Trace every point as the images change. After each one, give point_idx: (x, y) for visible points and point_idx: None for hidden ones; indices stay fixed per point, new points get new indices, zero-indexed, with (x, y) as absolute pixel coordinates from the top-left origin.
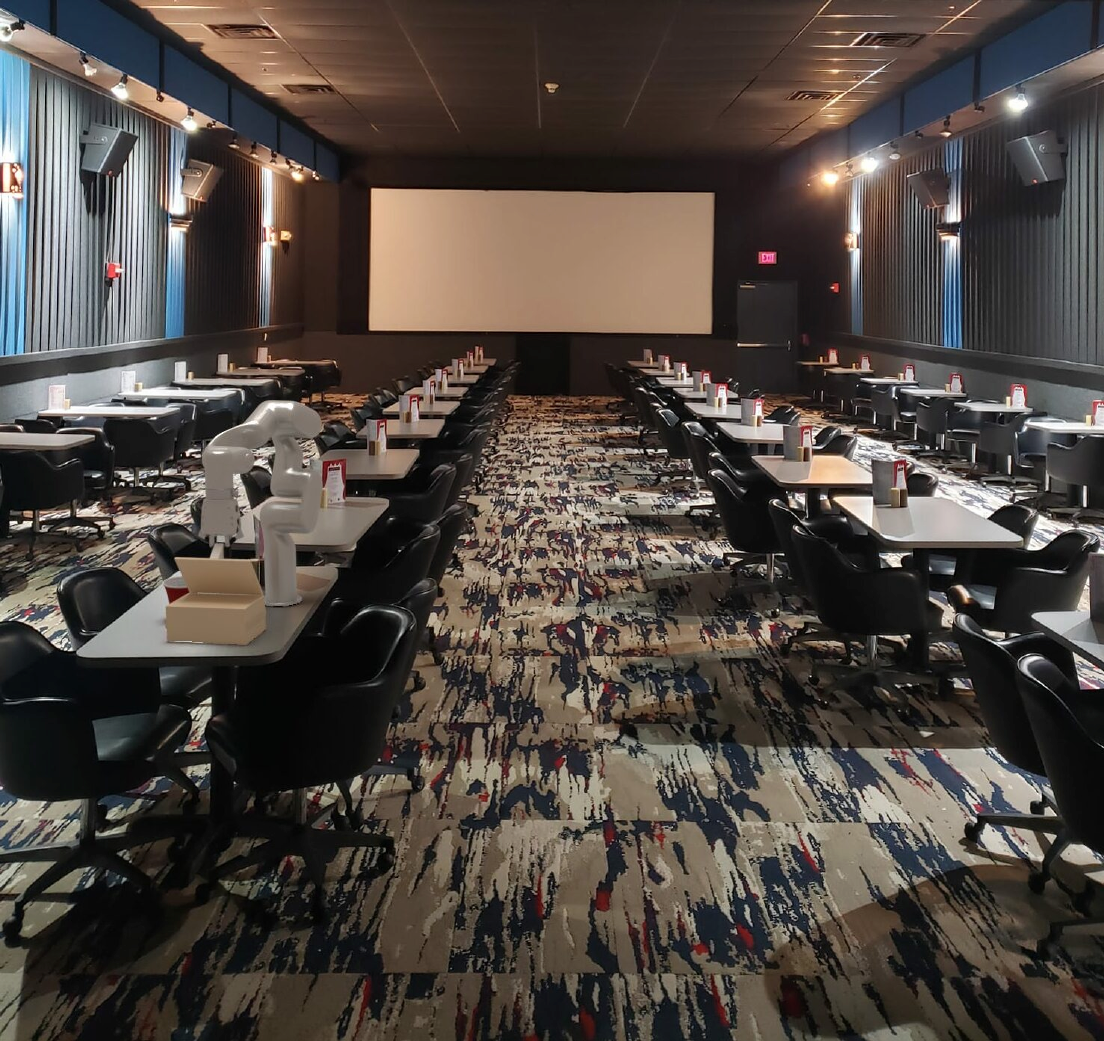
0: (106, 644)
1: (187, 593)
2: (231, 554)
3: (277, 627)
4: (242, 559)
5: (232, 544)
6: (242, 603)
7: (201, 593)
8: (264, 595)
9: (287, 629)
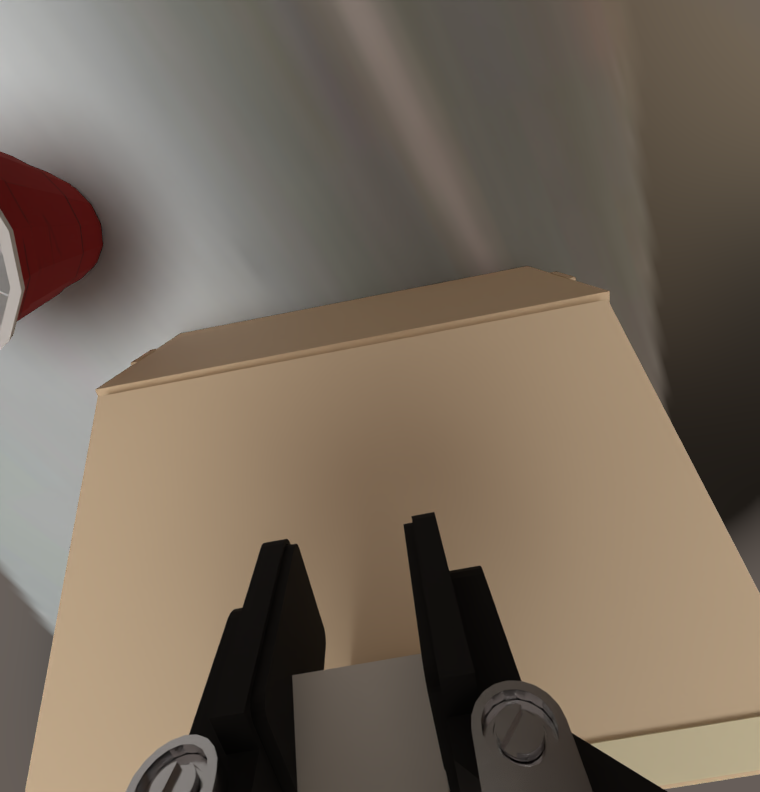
0: None
1: (25, 308)
2: (485, 580)
3: (563, 203)
4: (753, 774)
5: (544, 694)
6: None
7: (182, 380)
8: (608, 293)
9: (622, 222)
